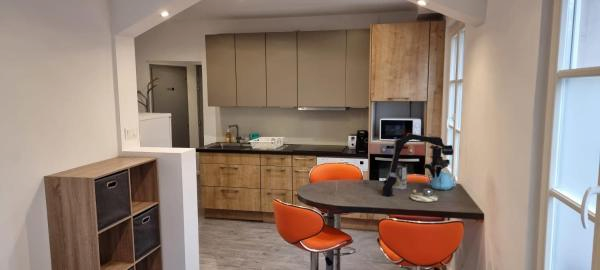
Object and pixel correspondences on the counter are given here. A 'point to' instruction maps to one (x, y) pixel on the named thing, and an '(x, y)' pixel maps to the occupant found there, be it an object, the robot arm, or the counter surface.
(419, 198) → the turntable
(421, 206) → the counter surface
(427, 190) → the cover
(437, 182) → the decorative pot
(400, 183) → the coffee box
